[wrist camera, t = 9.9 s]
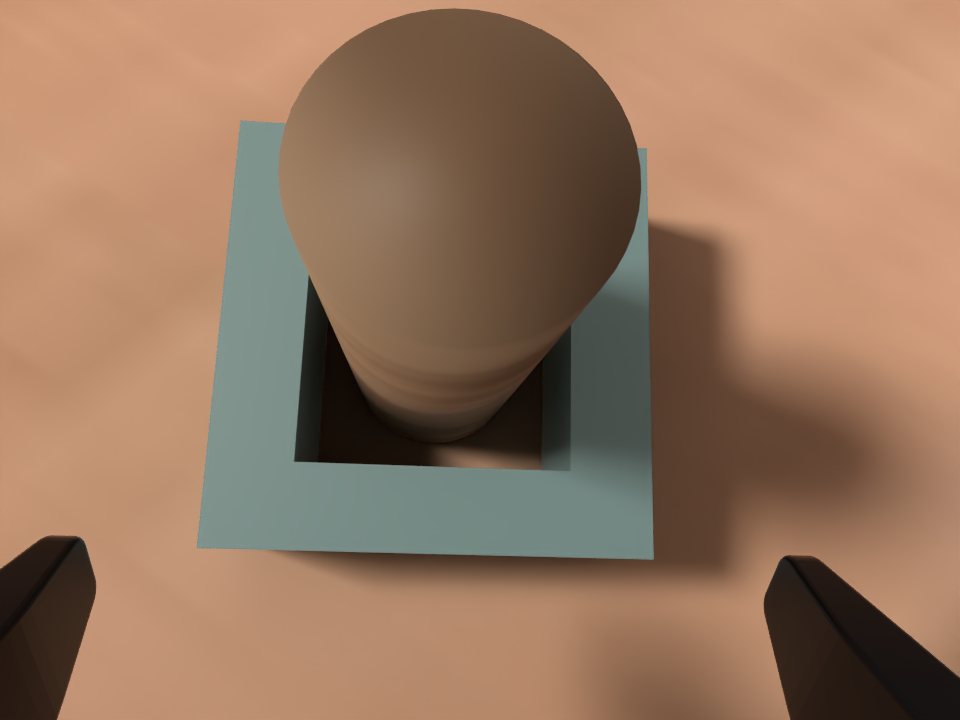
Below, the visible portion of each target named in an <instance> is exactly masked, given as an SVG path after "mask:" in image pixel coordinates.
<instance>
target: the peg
mask: <svg viewBox="0 0 960 720" xmlns="http://www.w3.org/2000/svg"><path fill="white" fill-rule="evenodd" d="M278 176H279V188H280V197H281V202H282V206H283V211H284V215H285V219H286V222H287V224H288V227H289V230H290V232H291V235H292V238H293V240H294V242H295V245H296V247H297V249H298V251H299V254H300V256H301V258H302V260H303V262H304V265H305V267H306V269H307V271H308V274H309V276H310V278H311V280H312V283H313V285H314V287H315V289H316V291H317V294H318V296H319V298H320V300H321V303H322V305H323V307H324V309H325V312H326V314H327V316H328V318H329V320H330V323H331V325H332V327H333V329H334V332H335V334H336V336H337V338H338V341H339V343H340V345H341V347H342V349H343V352H344V354H345V356H346V358H347V361H348V363H349V365H350V367H351V370H352V372H353V374H354V376H355V378H356V381H357V383H358V385H359V387H360V390H361V392H362V394H363V396H364V399H365V400H366V402H367V404H368V406H369V408H370V409H371V410H372V412H373V413H374V414H375V416H376V417H377V418H378V419H379V420H380V421H381V422H382V423H383V424H385V425H386V426H387V427H388V428H390V429H391V430H393V431H394V432H396V433H398V434H399V435H402V436H404V437H406V438H409V439H412V440H416V441H420V442H427V443H443V442H450V441H454V440H458V439H461V438H464V437H466V436H469V435H470V434H472V433H474V432H476V431H478V430H479V429H480V428H482V427H483V426H484V425H486V424H487V423H488V422H489V421H490V420H491V419H492V418H493V417H494V415H495V414H496V413H497V412H498V411H499V409H500V408H501V407H502V406H503V405H504V404H505V402H506V401H507V400H508V399H509V398H510V396H511V395H512V394H513V393H514V392H515V391H516V389H517V388H518V387H519V386H520V385H521V383H522V382H523V381H524V380H525V379H526V377H527V376H528V375H529V374H530V373H531V372H532V370H533V369H534V368H535V367H536V366H537V364H538V363H539V362H540V361H541V360H542V359H543V357H544V356H545V355H546V354H547V353H548V351H549V350H550V349H551V348H552V347H553V345H554V344H555V343H556V342H557V341H558V340H559V338H560V337H561V336H562V335H563V334H564V332H565V331H566V330H567V329H568V328H569V326H570V325H571V324H572V323H573V322H574V321H575V319H576V318H577V317H578V316H579V315H580V313H581V312H582V311H583V310H584V309H585V308H586V306H587V305H588V304H589V303H590V302H591V300H592V299H593V298H594V297H595V296H596V294H597V293H598V292H599V291H600V290H601V288H602V287H603V286H604V285H605V283H606V282H607V281H608V279H609V278H610V277H611V276H612V274H613V273H614V272H615V270H616V268H617V267H618V265H619V263H620V261H621V260H622V258H623V256H624V254H625V253H626V250H627V248H628V245H629V243H630V240H631V238H632V235H633V233H634V230H635V226H636V221H637V217H638V213H639V207H640V197H641V167H640V161H639V156H638V150H637V145H636V142H635V139H634V135H633V132H632V129H631V126H630V124H629V121H628V119H627V117H626V115H625V113H624V111H623V109H622V106H621V105H620V103H619V101H618V100H617V98H616V97H615V95H614V93H613V92H612V90H611V89H610V87H609V86H608V85H607V83H606V82H605V81H604V80H603V79H602V77H601V76H600V75H599V74H598V72H597V71H596V70H595V69H594V68H593V67H592V66H591V65H590V64H589V63H588V62H587V61H586V60H585V59H584V58H582V57H581V56H580V55H579V54H578V53H577V52H575V51H574V50H573V49H571V48H570V47H569V46H567V45H566V44H565V43H563V42H562V41H561V40H559V39H557V38H555V37H554V36H552V35H550V34H548V33H547V32H545V31H543V30H542V29H539V28H537V27H535V26H532V25H530V24H528V23H525V22H523V21H521V20H517V19H514V18H511V17H507V16H504V15H501V14H496V13H491V12H485V11H480V10H469V9H436V10H427V11H422V12H416V13H410V14H406V15H403V16H400V17H396V18H393V19H390V20H387V21H385V22H382V23H380V24H378V25H376V26H373V27H371V28H369V29H367V30H365V31H363V32H362V33H360V34H358V35H357V36H355V37H353V38H352V39H350V40H348V41H347V42H346V43H345V44H343V45H342V46H341V47H340V48H338V49H337V50H336V51H335V52H333V53H332V54H331V55H330V56H329V57H328V58H327V59H326V60H325V61H324V62H323V63H322V64H321V65H320V66H319V67H318V68H317V69H316V70H315V72H314V73H313V74H312V76H311V77H310V79H309V80H308V81H307V83H306V84H305V85H304V87H303V88H302V90H301V92H300V94H299V96H298V97H297V99H296V101H295V103H294V105H293V107H292V109H291V112H290V115H289V117H288V120H287V123H286V125H285V128H284V133H283V137H282V142H281V147H280V154H279V169H278Z"/></svg>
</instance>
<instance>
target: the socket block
mask: <svg viewBox="0 0 960 720" xmlns="http://www.w3.org/2000/svg"><path fill="white" fill-rule="evenodd" d="M285 125H286V124H284V123H270V122H255V121H240V130H239V140H238V150H237V160H236V169H235V179H234V189H233V199H232V208H231V218H230V228H229V238H228V248H227V257H226V267H225V277H224V287H223V296H222V306H221V316H220V326H219V335H218V345H217V355H216V365H215V374H214V384H213V394H212V404H211V414H210V423H209V433H208V443H207V453H206V462H205V472H204V482H203V492H202V501H201V511H200V521H199V531H198V541H197V548H217V549H256V550H296V551H335V552H375V553H414V554H454V555H493V556H533V557H572V558H612V559H651V560H654V553H653V494H652V434H651V375H650V316H649V256H648V197H647V149H646V148H637V150H638V156H639V161H640V167H641V197H640V207H639V213H638V217H637V221H636V226H635V230H634V233H633V235H632V238H631V240H630V243H629V245H628V248H627V250H626V253H625V254H624V256H623V258H622V260H621V261H620V263H619V265H618V267H617V268H616V270H615V272H614V273H613V274H612V276H611V277H610V278H609V279H608V281H607V282H606V283H605V285H604V286H603V287H602V288H601V290H600V291H599V292H598V293H597V294H596V296H595V297H594V298H593V299H592V300H591V302H590V303H589V304H588V305H587V306H586V308H585V309H584V310H583V311H582V312H581V313H580V315H579V316H578V317H577V318H576V319H575V321H574V322H573V323H572V324H571V325H570V326H569V328H568V329H567V330H566V331H565V332H564V334H563V335H562V336H561V337H560V338H559V340H558V341H557V342H556V343H555V344H554V345H553V347H552V348H551V349H550V350H549V351H548V353H547V354H546V355H545V356H544V357H543V391H542V470H520V469H491V468H462V467H433V466H403V465H374V464H345V463H318V454H319V440H320V426H321V412H322V398H323V385H324V371H325V357H326V343H327V329H328V316H327V314H326V312H325V309H324V307H323V305H322V303H321V300H320V298H319V296H318V294H317V291H316V289H315V287H314V285H313V283H312V280H311V278H310V276H309V274H308V271H307V269H306V267H305V265H304V262H303V260H302V258H301V256H300V254H299V251H298V249H297V247H296V245H295V242H294V240H293V238H292V235H291V232H290V230H289V227H288V224H287V222H286V219H285V215H284V211H283V206H282V202H281V197H280V188H279V176H278V169H279V154H280V147H281V142H282V137H283V133H284V128H285Z"/></svg>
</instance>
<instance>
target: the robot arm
mask: <svg viewBox="0 0 960 720" xmlns="http://www.w3.org/2000/svg"><path fill="white" fill-rule="evenodd" d="M95 594H96V580H95V576H94V572H93V569H92V565H91V562H90V558H89V555H88V551H87V548H86V545H85V543H84V541H83V540H82V539H81V538H80V537H77V536H54V535H53V536H46V537H44V538H42V539H40V540H39V541H37V542H36V543H34V544H33V545H32V546H30V547H29V548H28V549H26V550H25V551H24V552H22V553H21V554H20V555H18V556H17V557H16V558H14V559H13V560H12V561H10V562H9V563H8V564H6V565H5V566H4V567H2V568H1V569H0V720H57V718H58V715H59V712H60V709H61V706H62V703H63V700H64V697H65V694H66V691H67V687H68V684H69V681H70V678H71V674H72V671H73V668H74V665H75V661H76V658H77V655H78V652H79V648H80V645H81V642H82V639H83V635H84V632H85V629H86V626H87V622H88V619H89V616H90V613H91V609H92V606H93V603H94V599H95ZM764 613H765V618H766V622H767V626H768V630H769V634H770V639H771V643H772V647H773V651H774V655H775V659H776V663H777V667H778V672H779V676H780V680H781V684H782V688H783V692H784V696H785V701H786V705H787V709H788V712H789V716H790V720H960V677H958V676H957V675H956V674H955V673H954V672H952V671H951V670H950V669H949V668H948V667H946V666H945V665H944V664H943V663H942V662H941V661H939V660H938V659H937V658H936V657H935V656H933V655H932V654H931V653H930V652H929V651H927V650H926V649H925V648H924V647H923V646H922V645H920V644H919V643H918V642H917V641H916V640H914V639H913V638H912V637H911V636H910V635H908V634H907V633H906V632H905V631H904V630H902V629H901V628H900V627H899V626H898V625H897V624H895V623H894V622H893V621H892V620H891V619H889V618H888V617H887V616H886V615H885V614H883V613H882V612H881V611H880V610H879V609H877V608H876V607H875V606H874V605H873V604H872V603H870V602H869V601H868V600H867V599H866V598H864V597H863V596H862V595H861V594H860V593H858V592H857V591H856V590H855V589H854V588H852V587H851V586H850V585H849V584H848V583H847V582H845V581H844V580H843V579H842V578H841V577H839V576H838V575H837V574H836V573H835V572H833V571H832V570H831V569H830V568H829V567H827V566H826V565H825V564H824V563H823V562H821V561H820V560H819V559H817V558H815V557H812V556H791V555H788V556H785V557H783V558H782V559H781V560H780V562H779V564H778V566H777V568H776V571H775V573H774V575H773V578H772V580H771V582H770V585H769V587H768V589H767V592H766V594H765V598H764Z"/></svg>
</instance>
